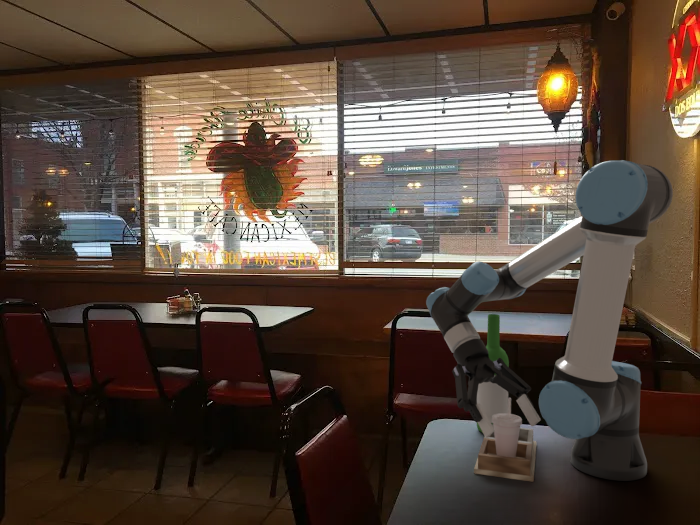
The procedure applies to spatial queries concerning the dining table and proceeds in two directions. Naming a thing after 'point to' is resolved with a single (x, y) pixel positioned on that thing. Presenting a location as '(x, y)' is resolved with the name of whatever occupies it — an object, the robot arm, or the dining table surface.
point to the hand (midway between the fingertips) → (514, 428)
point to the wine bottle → (491, 393)
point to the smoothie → (506, 432)
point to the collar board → (508, 458)
